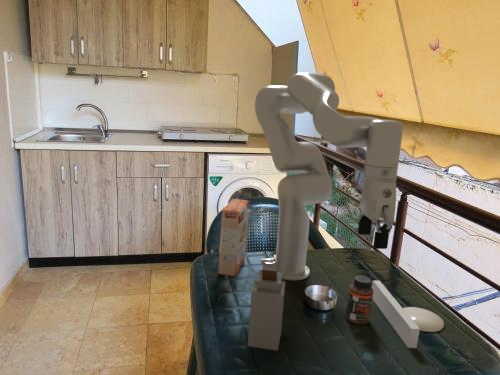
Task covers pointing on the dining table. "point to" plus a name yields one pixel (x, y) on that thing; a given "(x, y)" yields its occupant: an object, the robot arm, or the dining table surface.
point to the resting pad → (425, 319)
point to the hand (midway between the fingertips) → (371, 240)
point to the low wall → (396, 315)
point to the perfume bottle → (266, 309)
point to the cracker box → (233, 236)
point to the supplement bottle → (359, 300)
